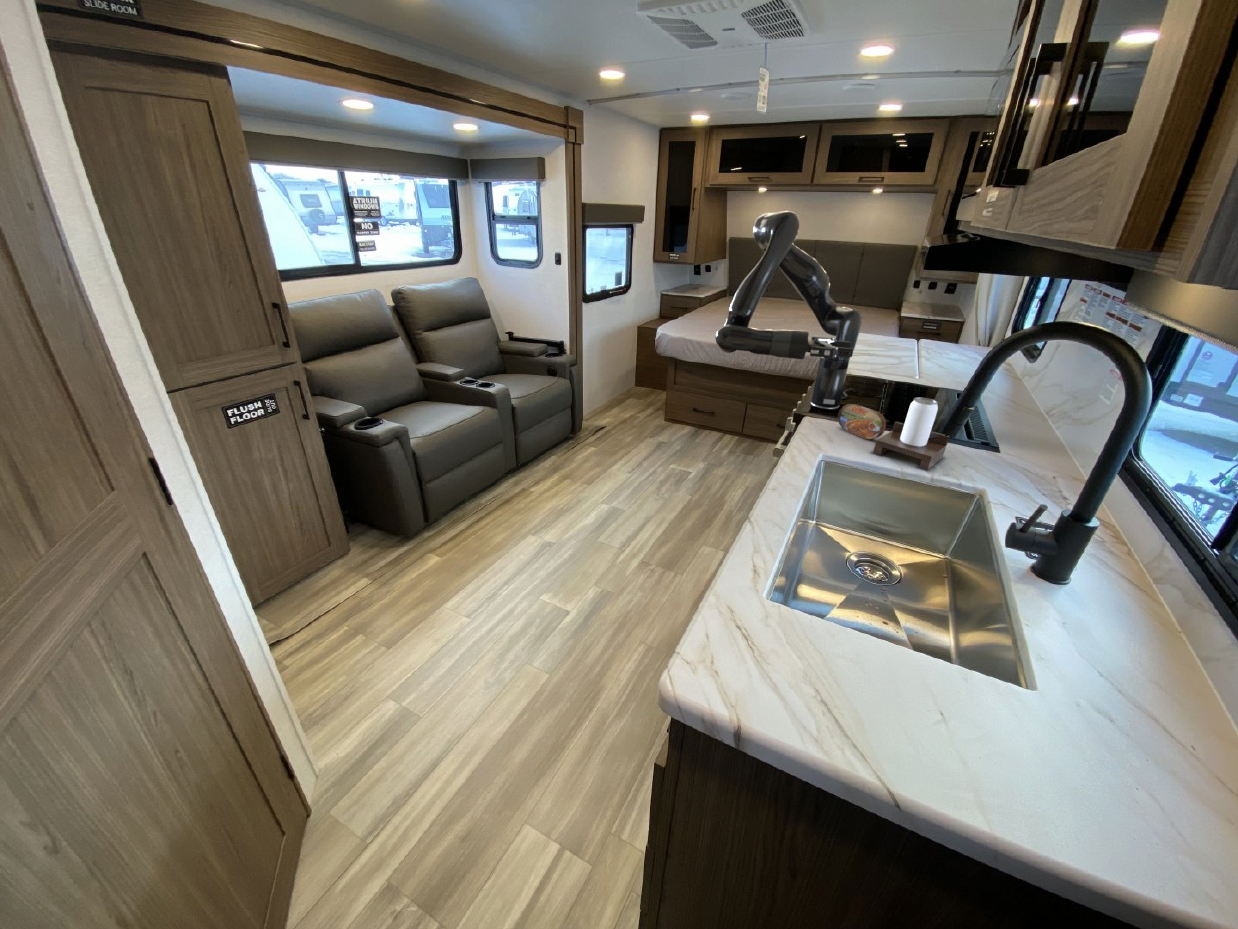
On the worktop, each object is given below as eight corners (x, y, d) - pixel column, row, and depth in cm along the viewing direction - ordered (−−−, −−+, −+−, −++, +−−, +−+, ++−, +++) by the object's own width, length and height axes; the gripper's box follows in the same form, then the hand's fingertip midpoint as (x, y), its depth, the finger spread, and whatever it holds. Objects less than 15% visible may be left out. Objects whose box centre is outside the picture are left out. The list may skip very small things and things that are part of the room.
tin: (834, 426, 155) (840, 400, 152) (841, 424, 157) (847, 399, 153) (876, 443, 144) (883, 416, 140) (883, 442, 145) (891, 415, 141)
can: (919, 438, 137) (932, 397, 132) (930, 448, 132) (944, 405, 126) (895, 437, 138) (907, 396, 133) (905, 446, 132) (918, 404, 127)
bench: (890, 442, 145) (895, 421, 142) (942, 457, 136) (950, 436, 133) (872, 453, 138) (878, 431, 135) (927, 470, 128) (934, 447, 126)
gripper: (790, 335, 129) (857, 340, 124) (791, 325, 141) (852, 330, 136) (785, 363, 132) (850, 369, 128) (787, 351, 144) (846, 357, 140)
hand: (851, 349), depth 132 cm, fingers open, 8 cm apart
